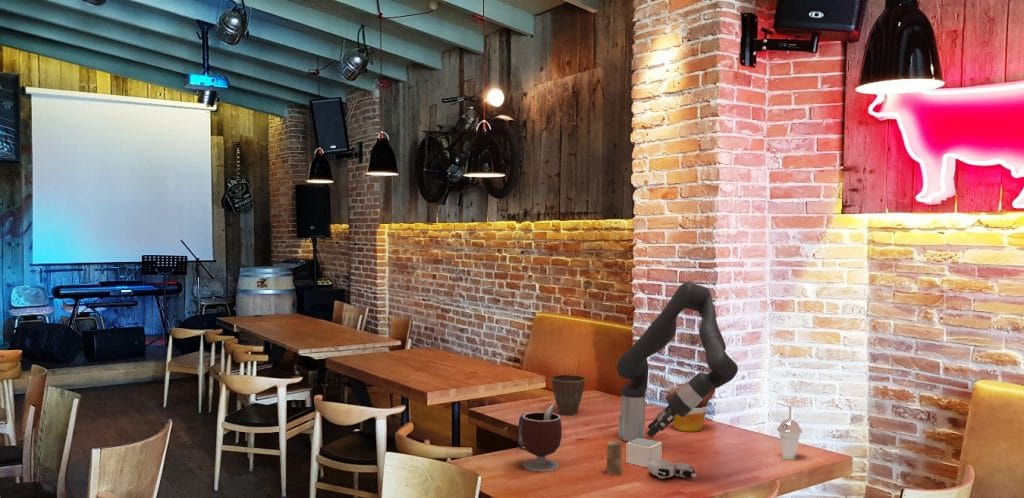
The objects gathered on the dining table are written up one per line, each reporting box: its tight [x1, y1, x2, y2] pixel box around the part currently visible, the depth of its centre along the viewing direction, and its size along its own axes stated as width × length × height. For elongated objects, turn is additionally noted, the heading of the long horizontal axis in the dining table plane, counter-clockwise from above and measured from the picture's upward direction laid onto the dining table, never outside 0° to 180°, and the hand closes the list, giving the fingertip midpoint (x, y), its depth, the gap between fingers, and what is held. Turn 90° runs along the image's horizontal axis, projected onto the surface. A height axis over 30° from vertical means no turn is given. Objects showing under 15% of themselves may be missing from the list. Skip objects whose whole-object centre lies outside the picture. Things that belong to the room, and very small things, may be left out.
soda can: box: [518, 413, 525, 449], centre depth 275 cm, size 7×7×12 cm
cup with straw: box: [775, 400, 803, 460], centre depth 266 cm, size 8×9×20 cm
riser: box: [625, 438, 663, 469], centre depth 257 cm, size 9×9×7 cm
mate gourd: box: [521, 403, 563, 472], centre depth 252 cm, size 16×14×20 cm
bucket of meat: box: [664, 385, 716, 433], centre depth 305 cm, size 20×16×20 cm
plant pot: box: [551, 374, 586, 416], centre depth 329 cm, size 15×15×16 cm
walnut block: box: [606, 440, 623, 476], centre depth 246 cm, size 4×4×10 cm
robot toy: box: [648, 458, 698, 480], centre depth 243 cm, size 12×4×15 cm
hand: (649, 432), depth 243 cm, fingers open, 8 cm apart
